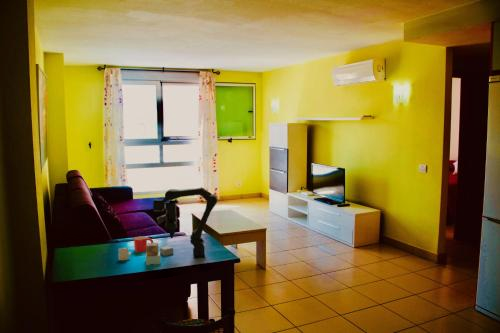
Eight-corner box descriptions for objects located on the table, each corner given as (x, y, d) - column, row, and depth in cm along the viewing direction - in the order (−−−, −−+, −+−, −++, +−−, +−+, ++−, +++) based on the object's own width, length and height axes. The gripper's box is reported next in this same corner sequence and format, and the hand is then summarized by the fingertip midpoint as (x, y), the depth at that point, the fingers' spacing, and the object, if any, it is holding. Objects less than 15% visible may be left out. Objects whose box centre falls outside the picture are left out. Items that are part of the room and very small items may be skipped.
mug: (154, 250, 249) (153, 238, 248) (134, 252, 245) (134, 240, 244) (153, 246, 256) (152, 235, 255) (134, 248, 253) (133, 237, 252)
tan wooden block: (169, 251, 246) (168, 245, 246) (173, 254, 241) (173, 247, 241) (160, 253, 243) (160, 247, 242) (164, 256, 238) (164, 249, 237)
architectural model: (119, 259, 234) (118, 247, 234) (131, 258, 236) (130, 246, 235) (118, 261, 231) (118, 249, 230) (130, 260, 233) (130, 247, 232)
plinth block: (160, 259, 232) (159, 251, 232) (160, 264, 224) (160, 255, 224) (146, 261, 230) (145, 252, 229) (146, 265, 222) (145, 257, 222)
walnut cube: (158, 252, 230) (158, 242, 229) (157, 255, 224) (156, 245, 223) (148, 252, 229) (147, 242, 229) (146, 256, 223) (145, 246, 223)
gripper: (158, 208, 241) (159, 232, 242) (155, 214, 222) (157, 241, 224) (176, 207, 242) (177, 231, 244) (175, 213, 224) (176, 240, 226)
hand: (172, 236), depth 234 cm, fingers open, 9 cm apart
